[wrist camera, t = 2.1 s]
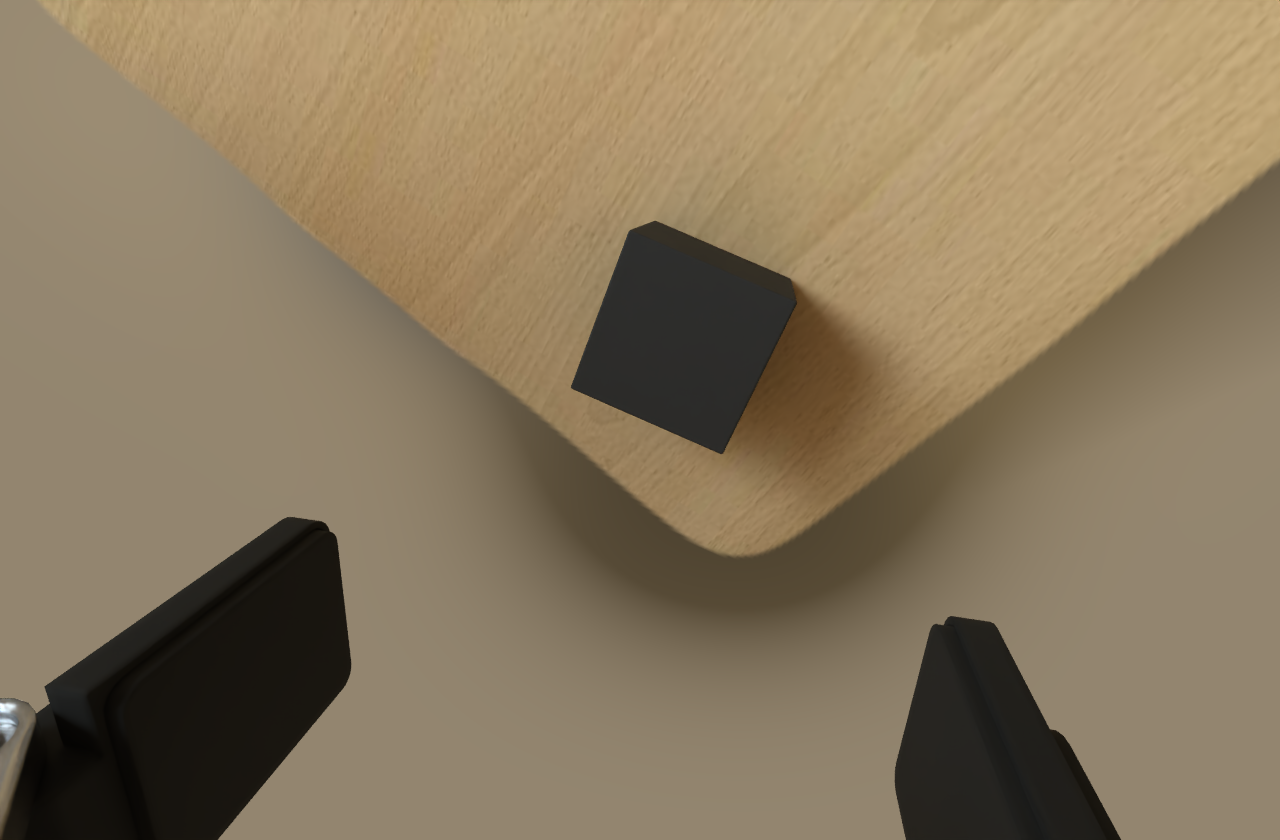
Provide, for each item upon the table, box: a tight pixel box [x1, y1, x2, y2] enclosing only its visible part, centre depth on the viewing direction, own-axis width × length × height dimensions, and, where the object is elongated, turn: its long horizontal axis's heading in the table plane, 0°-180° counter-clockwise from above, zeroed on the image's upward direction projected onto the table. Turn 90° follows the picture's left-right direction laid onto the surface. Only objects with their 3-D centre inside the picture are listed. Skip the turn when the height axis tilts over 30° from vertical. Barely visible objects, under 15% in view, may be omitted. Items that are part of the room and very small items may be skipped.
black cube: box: [571, 221, 797, 454], centre depth 21 cm, size 5×5×4 cm
